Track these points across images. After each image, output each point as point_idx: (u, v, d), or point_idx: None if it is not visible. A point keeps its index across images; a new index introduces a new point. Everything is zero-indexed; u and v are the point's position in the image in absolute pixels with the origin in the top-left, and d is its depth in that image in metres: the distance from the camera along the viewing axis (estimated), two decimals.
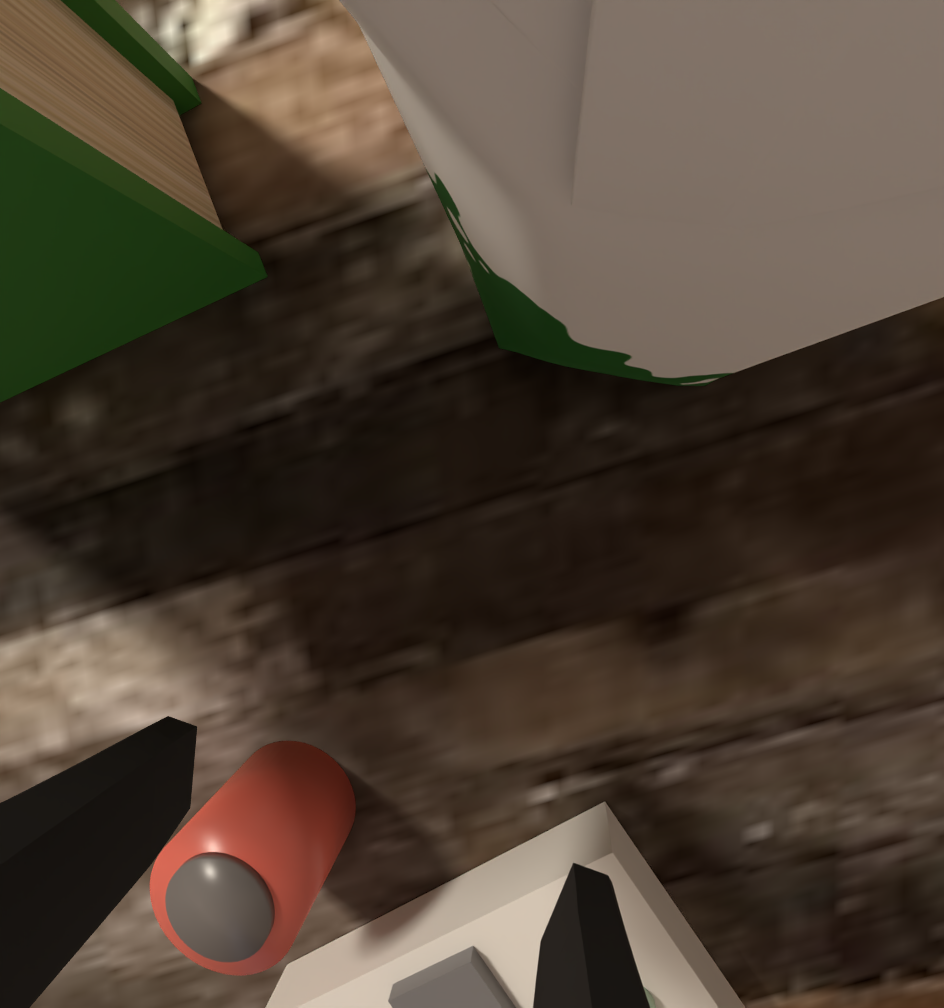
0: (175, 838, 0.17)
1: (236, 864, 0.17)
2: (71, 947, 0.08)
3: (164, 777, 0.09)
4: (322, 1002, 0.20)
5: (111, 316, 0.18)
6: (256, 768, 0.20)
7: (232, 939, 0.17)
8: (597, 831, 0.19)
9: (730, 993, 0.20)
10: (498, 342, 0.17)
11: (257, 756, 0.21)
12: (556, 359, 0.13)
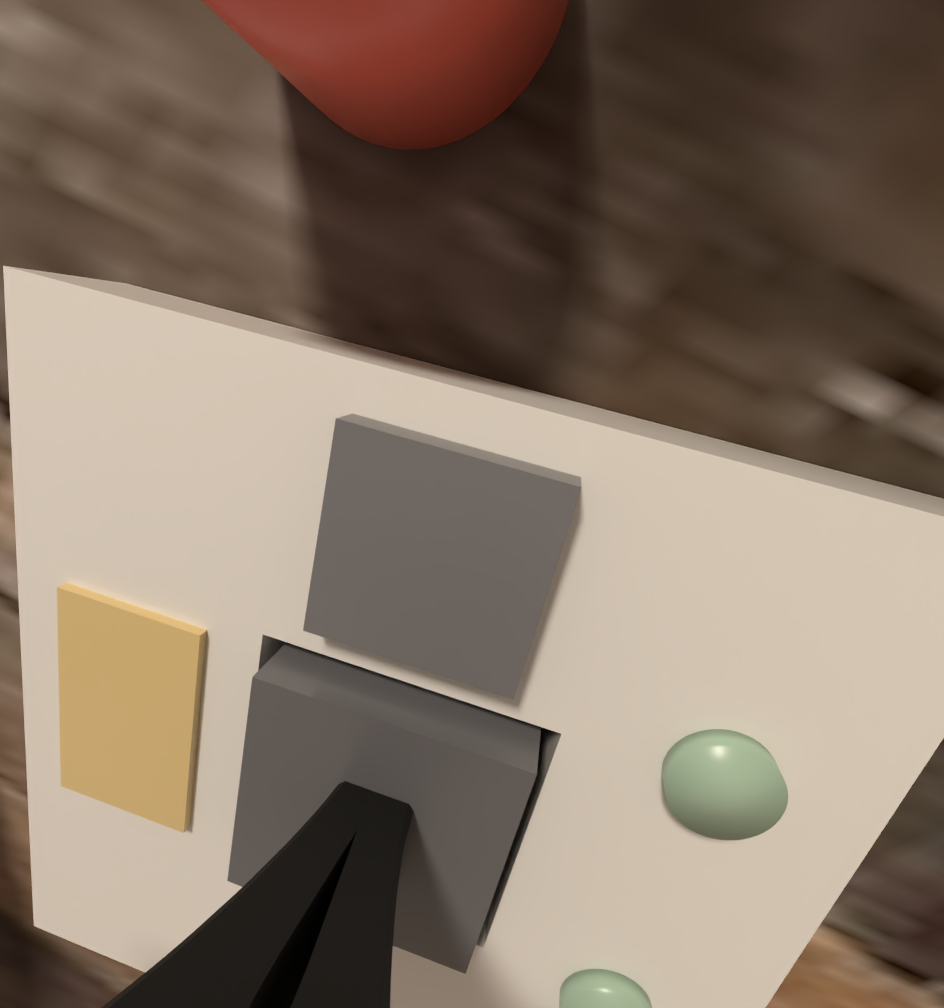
0: None
1: None
2: None
3: None
4: (179, 329, 0.08)
5: None
6: None
7: None
8: None
9: None
10: None
11: None
12: None
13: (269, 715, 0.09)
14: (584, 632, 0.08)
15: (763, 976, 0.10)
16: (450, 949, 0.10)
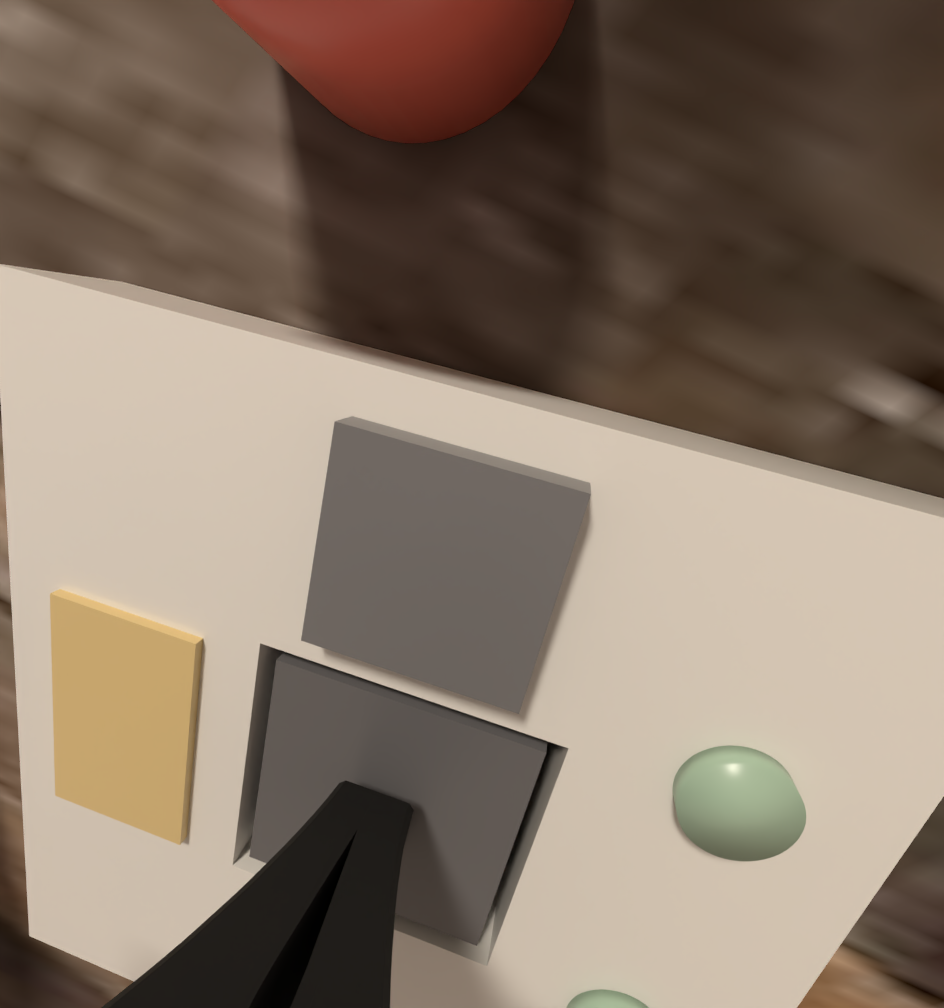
0: None
1: None
2: None
3: None
4: (173, 328, 0.08)
5: None
6: None
7: None
8: None
9: None
10: None
11: None
12: None
13: (291, 696, 0.10)
14: (592, 644, 0.08)
15: (777, 1000, 0.09)
16: (462, 922, 0.10)
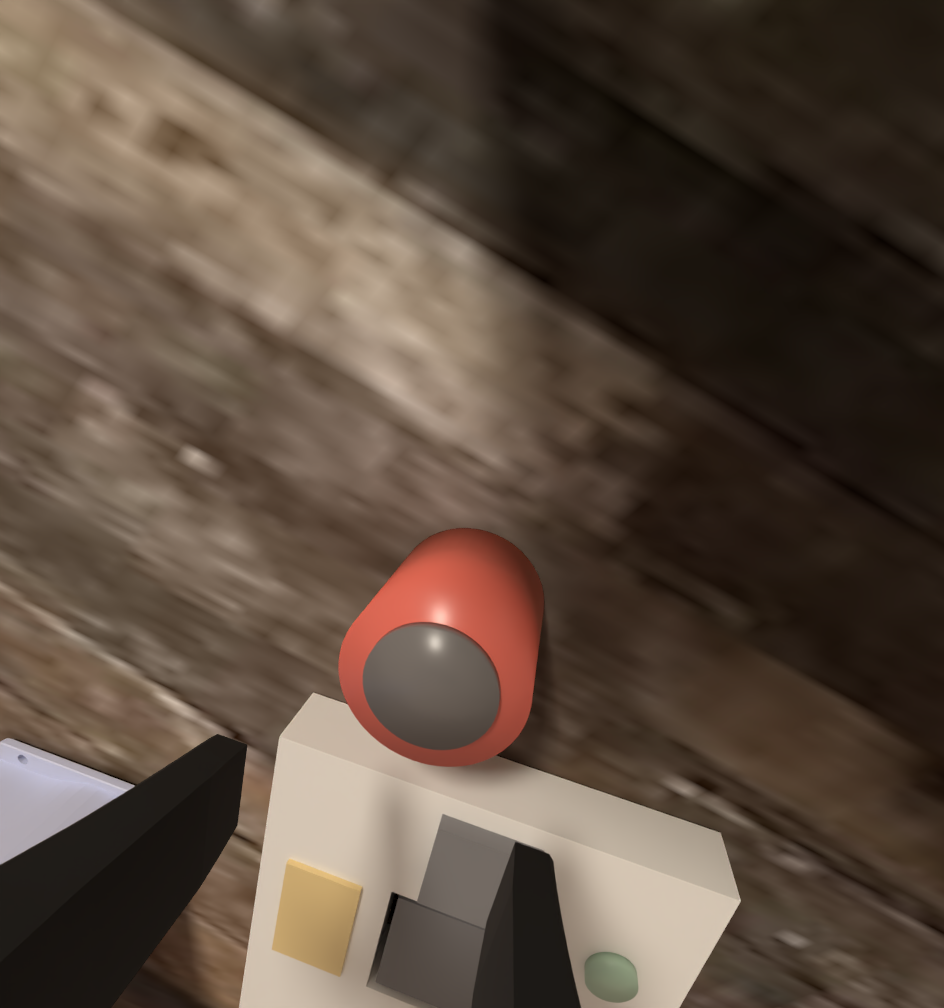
0: (450, 596, 0.13)
1: (495, 676, 0.13)
2: (129, 972, 0.08)
3: (217, 797, 0.09)
4: (363, 772, 0.18)
5: None
6: (506, 565, 0.16)
7: (416, 721, 0.14)
8: (716, 860, 0.18)
9: None
10: None
11: (495, 545, 0.17)
12: None
13: (404, 912, 0.20)
14: None
15: None
16: None
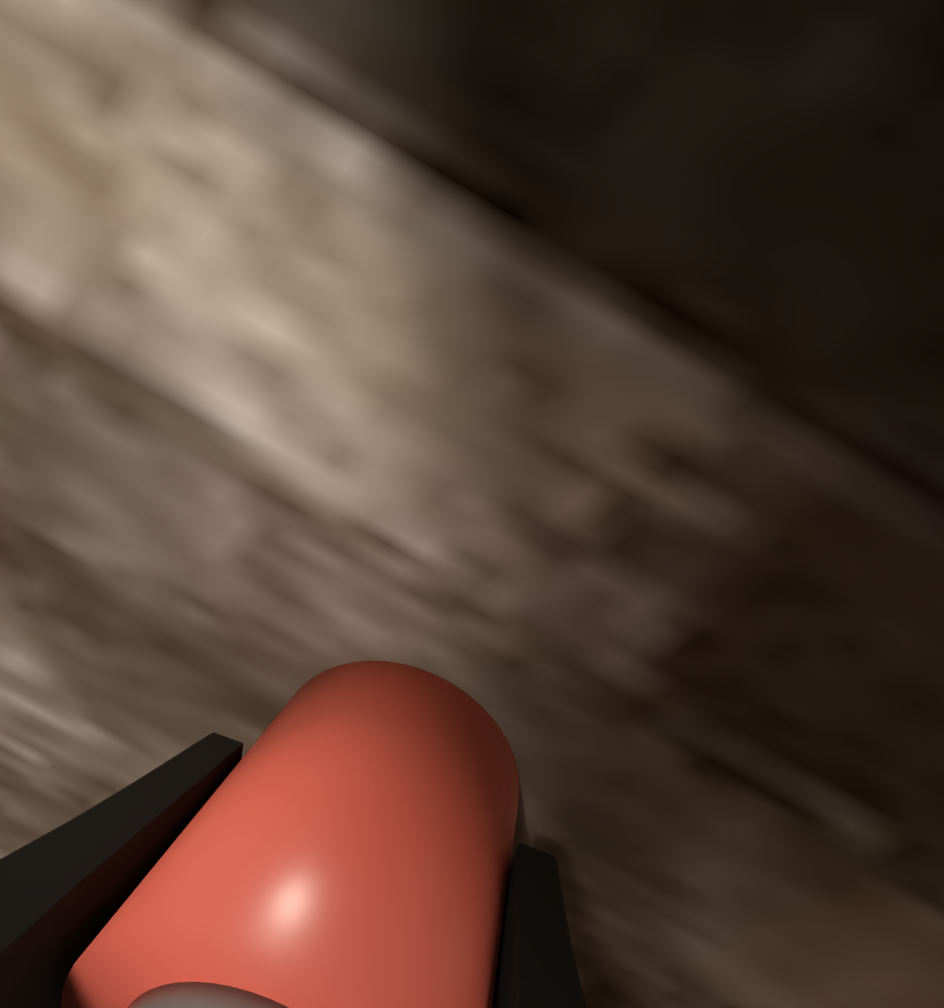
0: (271, 942, 0.05)
1: None
2: None
3: None
4: None
5: None
6: (442, 763, 0.08)
7: None
8: None
9: None
10: None
11: (428, 707, 0.09)
12: None
13: None
14: None
15: None
16: None
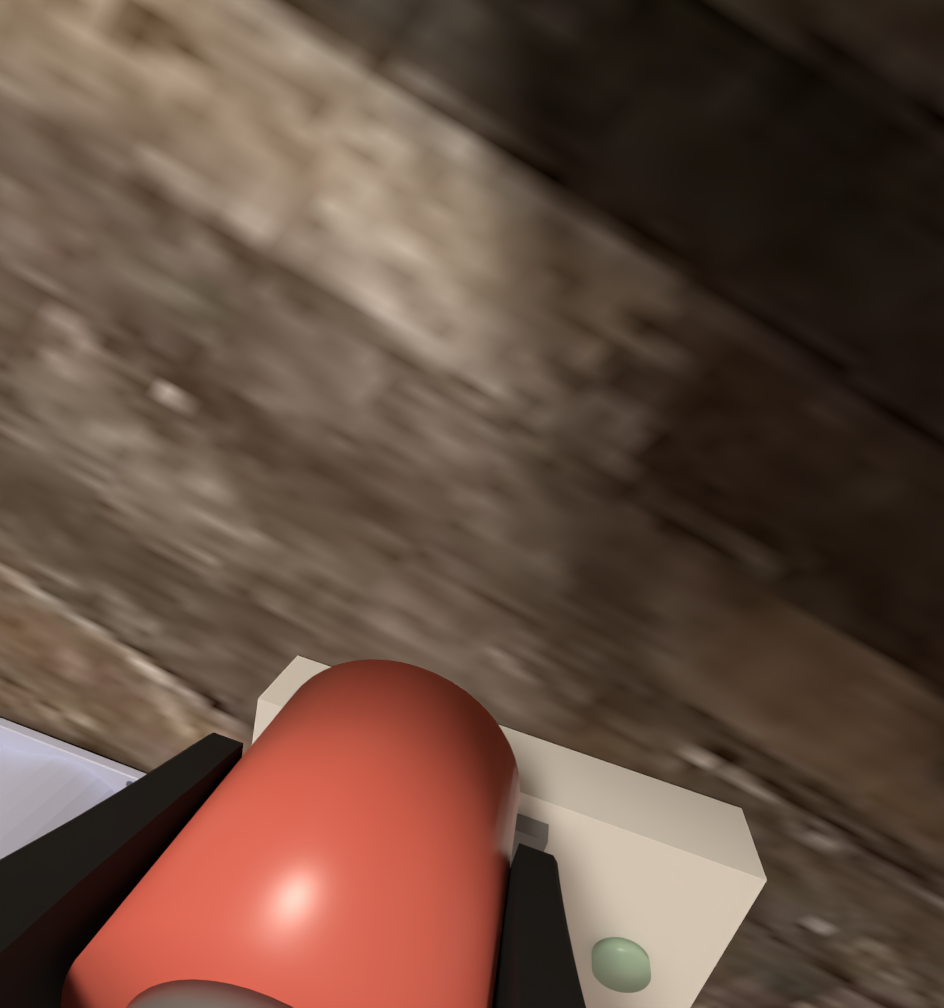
0: (271, 940, 0.05)
1: None
2: None
3: None
4: None
5: None
6: (442, 763, 0.08)
7: None
8: (738, 837, 0.16)
9: None
10: None
11: (428, 705, 0.09)
12: None
13: None
14: None
15: None
16: None
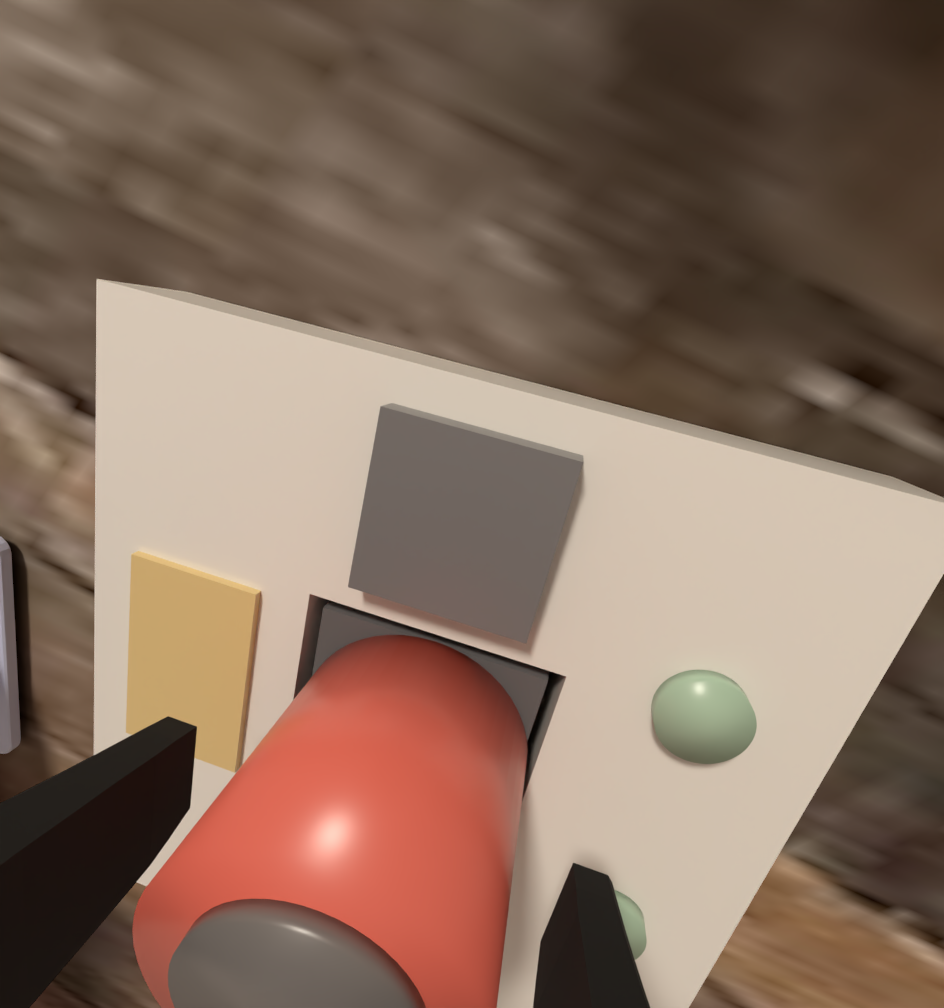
0: (320, 861, 0.06)
1: None
2: (71, 947, 0.08)
3: (164, 777, 0.09)
4: (246, 332, 0.10)
5: None
6: (459, 723, 0.09)
7: None
8: (904, 485, 0.10)
9: None
10: None
11: (444, 674, 0.10)
12: None
13: (335, 638, 0.12)
14: (586, 587, 0.10)
15: (739, 888, 0.11)
16: None
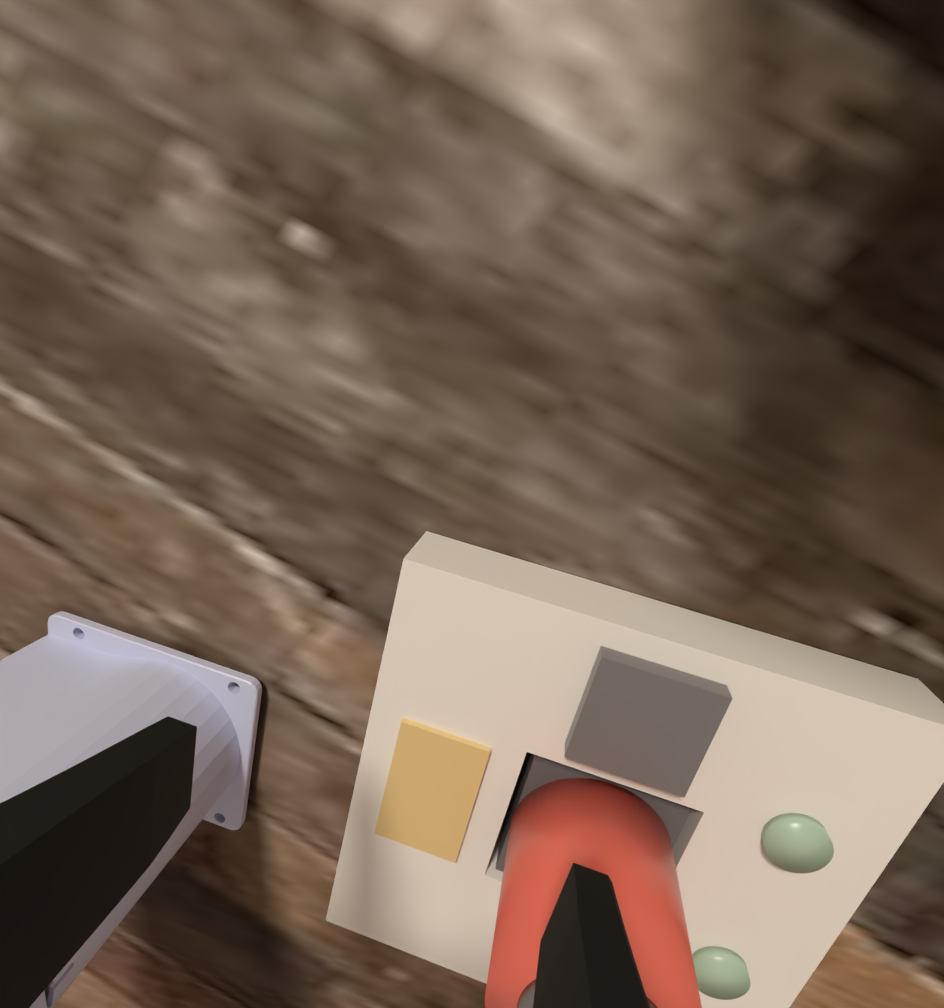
0: None
1: None
2: (71, 947, 0.08)
3: (164, 777, 0.09)
4: (505, 598, 0.15)
5: None
6: (649, 851, 0.15)
7: None
8: (928, 700, 0.15)
9: None
10: None
11: (630, 812, 0.16)
12: None
13: (540, 778, 0.17)
14: (722, 760, 0.15)
15: (815, 949, 0.17)
16: None
